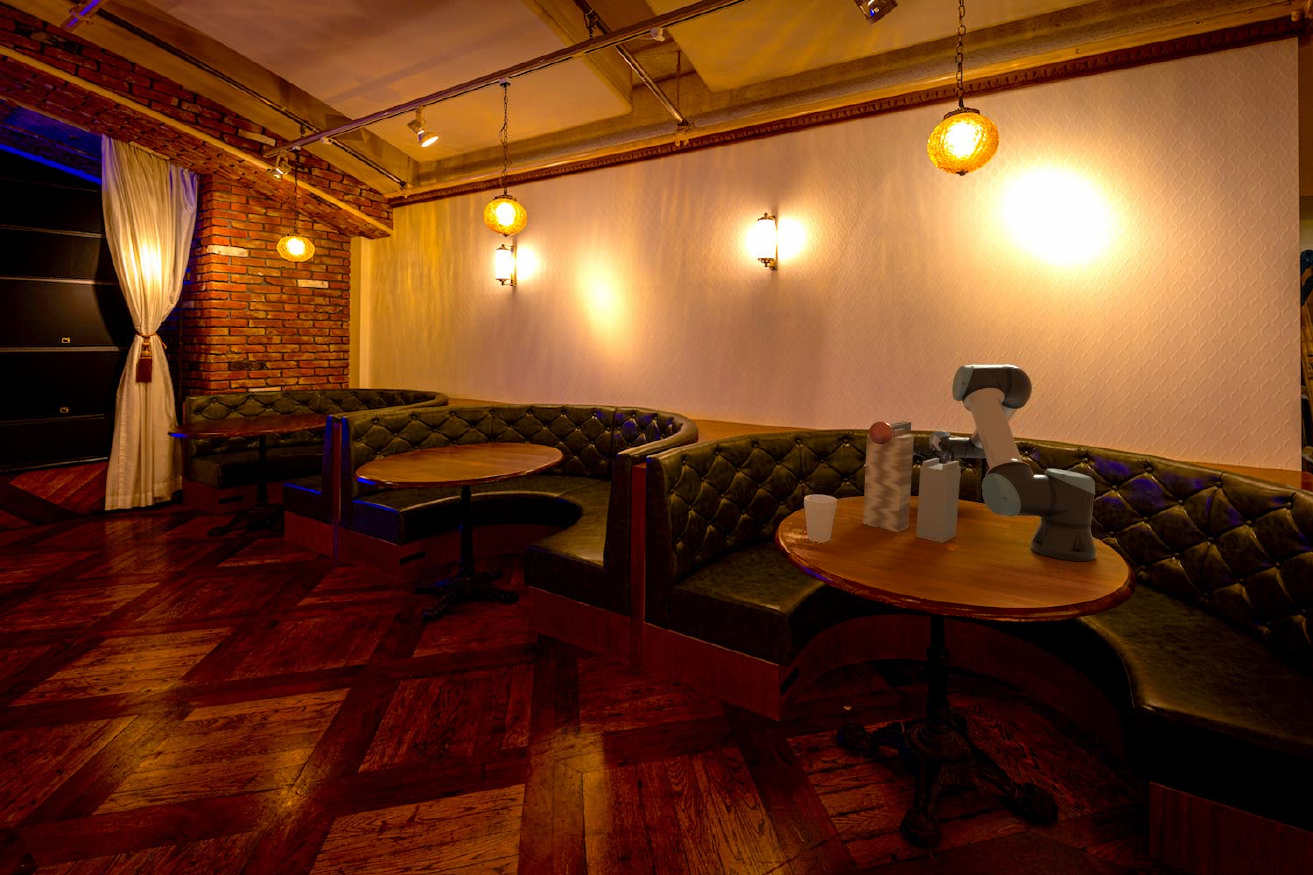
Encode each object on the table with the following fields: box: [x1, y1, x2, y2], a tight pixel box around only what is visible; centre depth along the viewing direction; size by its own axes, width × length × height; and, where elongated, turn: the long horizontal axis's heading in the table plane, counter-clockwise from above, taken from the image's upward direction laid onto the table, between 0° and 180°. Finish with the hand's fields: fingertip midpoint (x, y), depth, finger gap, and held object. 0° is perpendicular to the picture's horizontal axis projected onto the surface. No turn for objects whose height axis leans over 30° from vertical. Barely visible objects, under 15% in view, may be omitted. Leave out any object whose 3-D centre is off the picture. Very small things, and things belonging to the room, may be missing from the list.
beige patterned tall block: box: [862, 428, 915, 533], centre depth 192 cm, size 12×7×32 cm, turn 41°
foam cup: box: [803, 494, 838, 542], centre depth 179 cm, size 10×9×13 cm
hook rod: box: [868, 421, 912, 444], centre depth 191 cm, size 7×22×7 cm, turn 137°
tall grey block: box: [915, 458, 962, 544], centre depth 181 cm, size 8×9×24 cm
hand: (913, 436), depth 201 cm, fingers open, 13 cm apart
